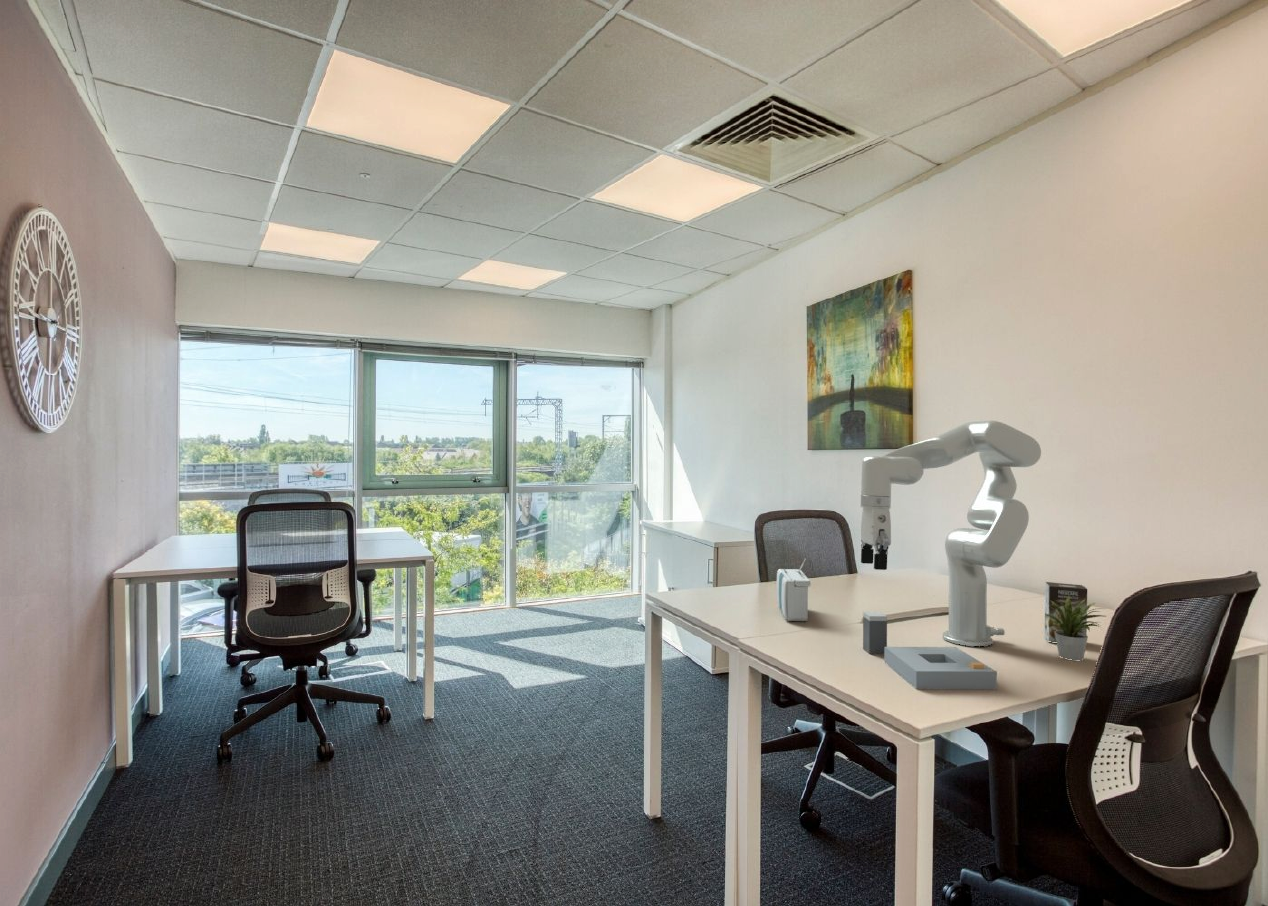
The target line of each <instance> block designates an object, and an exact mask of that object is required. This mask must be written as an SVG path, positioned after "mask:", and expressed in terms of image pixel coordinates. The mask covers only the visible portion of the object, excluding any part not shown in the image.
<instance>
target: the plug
mask: <svg viewBox="0 0 1268 906" xmlns="http://www.w3.org/2000/svg"><path fill="white" fill-rule="evenodd" d="M862 626H863V627H862V650H864V651H865V652H866V653H867V654H868V655H884V649H885V647H888V616H887V615H886V614H884V613H882V612H881V611H862Z"/></svg>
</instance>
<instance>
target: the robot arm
mask: <svg viewBox="0 0 1268 906" xmlns="http://www.w3.org/2000/svg"><path fill="white" fill-rule="evenodd" d="M976 453H978V455H979V459H980V462H981V464H982V467H983V472H984V479H983V482H982V483H981V486H980V488H979V490H978V492H977V493H976V495H975V497H974V499H973V501H972V502H971V504H970V506H969V508H968V511H967V513H966V519H967V522H968V523H969V525H971V526H972V527H974V528H969V527H968V528H967V527H959V528H956V529H953V530H951V531H950V532H949V533H948V534H947V536H946V538H945V541H944V549H945V554H946V558H947V564H948V565H947V566H948V630H947V631H944V632H942V638H943V640H945V641H946V642H949V643H951V644H952V643H953V644H956V645H959V644H960V645H961V646H965V645H966V646H965V647H974V646H979V647H978V648H981V647H980V646H984V647H989V646H988V645H990V646H992V645H993V643H994V639H993V638H992V637H994V636H1005V633H1006V632H1005V629H1004V628H1002V627H999V628H998V627H994V626H989V625H988V623H987V622H988V620H987V619H988V617H987V615H988V614H987V613H988V609H987V607H988V606H987V605H988V602H987V601H988V596H987V594H988V593H987V592H988V589H987V588H988V580H987V579H988V578H987V574H986V571H985V568H984V567H987V568H991V569H992V568H993V569H994V568H995V569H996V568H1001V567H1003V566H1005V565H1006V564H1007V563H1008V562H1009V561H1010V559H1011V557H1012V556H1013V554H1014V552H1015V550H1016V549H1017V547H1018V545H1019V543H1020V542H1021V540H1022V538H1023V536H1024V534H1025V532H1026V530H1027V527H1028V525H1029V518H1030V517H1029V516H1030V515H1029V510H1028V507H1027V506H1026V505H1025V503H1023V501H1020V500H1018V499H1015V498H1014V496H1015V494H1016V492H1017V480H1016V478H1015V475H1014V473H1013V471H1012V468H1029V467H1032V466H1034V465H1036V464H1037V463H1038V462H1039V460H1040V459H1041V457H1042V449H1041V445H1040V444H1039V442H1038V441H1037V439H1036V438H1033V437H1032V436H1030V435H1029V434H1026V433H1025V432H1023V431H1020V430H1019V429H1016V428H1015V427H1013V426H1010V425H1008V424H1006V423H1004V422H1001V421H998V420H984V421H983V420H982V421H970V422H965V423H963V424H960V425H959V426H956V427H954V428H951V429H949V430H947V431H945V432H943V433H941V434H939V435H936V436H934V437H931V438H929V439H925V440H922V441H919V442H916V443H912V444H909V445H906V446H902V447H900V448H897V449H895V450H893V451H890V452H888V453H885V454H884V455H882V456H873V455H872V456H865V457H864V458H862V460H861V461H862V463H861V482H860V483H861V484H860V485H861V488H860V489H861V490H860V507H861V508H862V514H861V524H860V525H861V526H860V541H861V545H860V548H861V549H860V552H861V553H860V563H861V564H867V565H868V564H871V565H872V564H873V569H874V570H879V571H882V570H883V571H886V570H888V556H889V555H888V554H889V551H888V550H889V548H890V547H889V546H891V544H892V522H891V510H890V509H891V503H892V502H891V500H892V484H894V485H895V484H896V485H904V486H909V485H913V484H916V483H918V482H919V481H921V479H922V478H923V476H924V470H926V469H937V468H943V467H947V466H949V465H952V464H954V463H956V462H958V461H960V460H962V459H964V458H966V457H969V456H971V455H972V454H976ZM873 547H874V548H873ZM874 551H875V553H874ZM991 644H992V645H991Z"/></svg>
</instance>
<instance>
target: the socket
mask: <svg viewBox="0 0 1268 906" xmlns="http://www.w3.org/2000/svg"><path fill="white" fill-rule="evenodd" d="M883 656H884V659H883V660H884V662H885V663H884V662H883V663H884V664H886V663H887V664H888V665H889V666H890V667H891V668H890V667H889V666H888V665H887V664H886V665H887V666H888V667H889V668H890V669H891V670H893V671H894V672H895V673H896V674H897V675H899V674H900V675H901V676H902V677H903V678H902V677H901V676H900V675H899V676H900V677H901V678H902V679H903V680H905V681H906V682H907V683H908V684H910V685H911V684H912V685H913V686H914V687H915V690H998V689H997V687H998V686H997V685H998V682H997V675H998V673H997V670H995V669H994V668H991V667H990V666H988V665H987V664H985V663H983V662H981V661H980V660H979V659H977V658H975V657H973V656H972V655H970V654H969V653H967V652H965V651H963V650H962V649H960V648H958V647H957V646H887V647H885V649H884V654H883ZM912 685H911V686H912ZM913 686H912V687H913ZM914 687H913V688H914Z"/></svg>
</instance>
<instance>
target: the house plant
mask: <svg viewBox="0 0 1268 906" xmlns="http://www.w3.org/2000/svg"><path fill="white" fill-rule="evenodd" d="M1085 599H1086V598H1085ZM1085 599H1084V600H1082V601H1081V602H1080V603H1079V604H1078V605H1077V606H1076V608H1075V609H1074V611H1073V612H1072V604H1071V601H1070V596H1069V594H1068V598H1067V599H1066V602H1065V606H1064V605H1063V603H1061V602H1060V601H1059V602H1060V603H1061V604H1062V605H1063V607H1064V609H1065V611H1064V613H1065V616H1064V614H1063V611H1062V610H1061V609H1060V608H1059V607H1058V606H1057V604H1056V603H1054V602H1053V601H1051V600H1050V601H1051V603H1052V605H1053V606H1055V608H1056V609H1057V610H1058V612H1059V614H1060V616H1061V618H1060V619H1062V620H1061V621H1062V623H1061V622H1060V620H1059V619H1057V618H1056V617H1055V616H1053V615H1050V614H1046V616H1048V617H1051V618H1053V619H1054V620H1056V621H1057V622H1056V621H1053V624H1054V625H1053V624H1052V625H1053V626H1060V625H1061V626H1060V627H1061V628H1062V630H1058V631H1055V637H1056V642H1057V644H1056V646H1057V652H1058V657H1059V656H1061V657H1063V658H1067V659H1072V660H1082V659H1083V660H1084V657H1085V652H1086V648H1087V641H1088V634H1087V635H1085V634H1083V633H1080V632H1081V631H1082V630H1084V629H1085V628H1087V630H1088V631H1089V632H1091V630H1090V627H1093V626H1094V627H1098V628H1100V624H1098V621H1090V620H1088V619H1092V618H1096V617H1097V618H1098V617H1106V615H1101V614H1092V613H1095V612H1096V613H1097V612H1099V613H1100V612H1101V611H1099V610H1106V608H1103V607H1101V608H1097V610H1096V608H1092V609H1090V608H1091V607H1092V606H1094V605H1095V604H1096V602H1095V603H1089V604H1087V606H1086V607H1085V608H1083V609H1082V608H1080V607H1081V605H1082V604H1083V602H1084V601H1085ZM1056 601H1057V600H1056ZM1048 605H1049V604H1048ZM1049 606H1050V605H1049ZM1052 609H1053V608H1052ZM1081 609H1082V610H1081ZM1089 609H1090V610H1089ZM1053 610H1054V609H1053ZM1054 611H1055V610H1054ZM1086 611H1087V612H1086ZM1055 612H1056V611H1055ZM1085 612H1086V613H1087V615H1086V616H1082V615H1084V614H1085ZM1056 613H1057V612H1056ZM1057 614H1058V613H1057ZM1058 616H1059V615H1058ZM1060 616H1059V617H1060ZM1081 616H1082V617H1081ZM1085 619H1087V621H1086V622H1083V623H1082V621H1083V620H1085ZM1081 623H1082V624H1081ZM1086 623H1087V625H1084V624H1086ZM1055 624H1060V625H1055ZM1084 627H1085V628H1084ZM1082 628H1084V629H1082ZM1081 629H1082V630H1081ZM1079 630H1081V631H1080V632H1078V631H1079Z"/></svg>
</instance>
